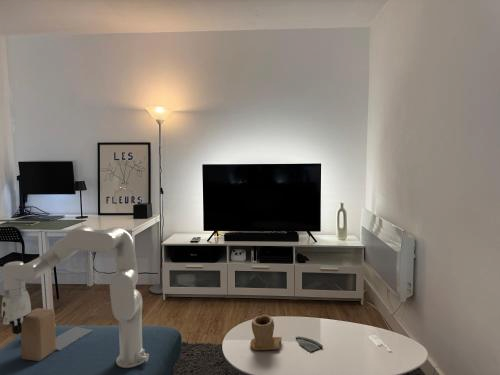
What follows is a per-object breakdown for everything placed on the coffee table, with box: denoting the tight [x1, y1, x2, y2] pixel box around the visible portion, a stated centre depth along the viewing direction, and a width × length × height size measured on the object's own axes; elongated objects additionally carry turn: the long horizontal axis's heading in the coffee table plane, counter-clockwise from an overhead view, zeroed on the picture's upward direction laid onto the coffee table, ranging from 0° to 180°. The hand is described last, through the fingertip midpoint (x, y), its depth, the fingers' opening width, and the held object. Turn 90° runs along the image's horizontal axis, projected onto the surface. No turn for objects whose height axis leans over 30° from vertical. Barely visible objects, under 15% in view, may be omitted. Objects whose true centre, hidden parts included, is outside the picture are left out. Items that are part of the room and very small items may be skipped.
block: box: [20, 307, 57, 362], centre depth 155 cm, size 10×10×20 cm
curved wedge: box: [294, 336, 324, 354], centre depth 163 cm, size 8×14×2 cm, turn 30°
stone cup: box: [250, 314, 283, 351], centre depth 160 cm, size 15×12×15 cm
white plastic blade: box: [368, 334, 393, 353], centre depth 163 cm, size 5×15×1 cm, turn 5°
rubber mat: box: [55, 326, 94, 352], centre depth 170 cm, size 12×20×1 cm, turn 161°
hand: (17, 332), depth 145 cm, fingers closed
